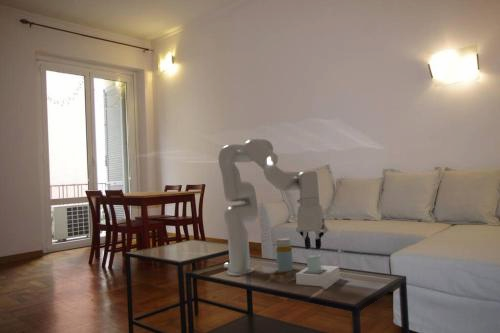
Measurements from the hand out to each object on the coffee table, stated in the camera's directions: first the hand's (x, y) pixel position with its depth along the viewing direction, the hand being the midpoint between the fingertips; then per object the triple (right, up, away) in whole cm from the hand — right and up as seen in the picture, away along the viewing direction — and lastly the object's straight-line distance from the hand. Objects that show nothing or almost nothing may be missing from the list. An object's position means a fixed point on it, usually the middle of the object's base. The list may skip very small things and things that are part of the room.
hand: (313, 248), depth 154 cm
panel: (+3, -14, +2) cm, 15 cm away
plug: (+1, -13, 0) cm, 13 cm away
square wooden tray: (-12, -15, +7) cm, 21 cm away
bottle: (-9, -16, +23) cm, 30 cm away
